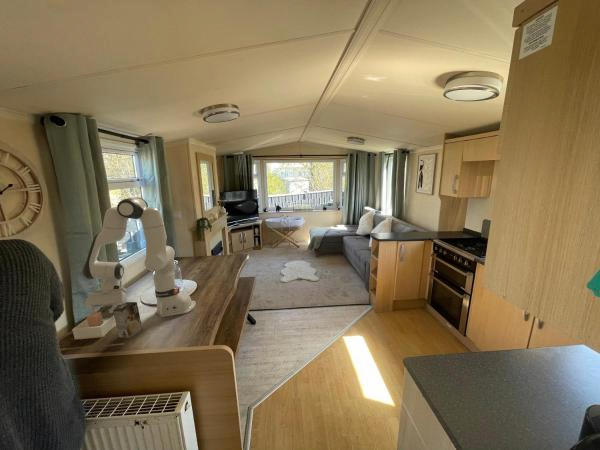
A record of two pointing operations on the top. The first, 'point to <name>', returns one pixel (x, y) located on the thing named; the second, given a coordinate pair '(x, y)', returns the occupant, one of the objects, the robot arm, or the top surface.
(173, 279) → the robot arm
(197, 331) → the top surface
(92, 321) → the terracotta block
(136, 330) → the coffee box
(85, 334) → the tray
